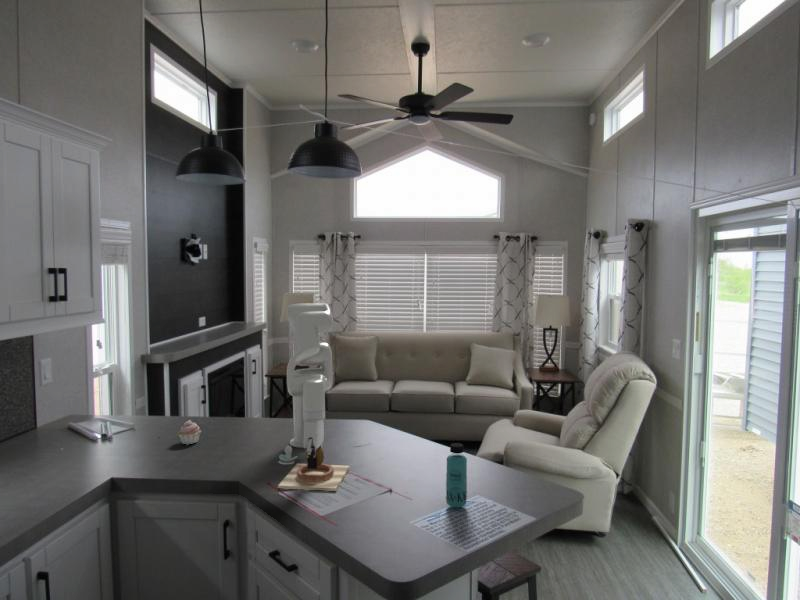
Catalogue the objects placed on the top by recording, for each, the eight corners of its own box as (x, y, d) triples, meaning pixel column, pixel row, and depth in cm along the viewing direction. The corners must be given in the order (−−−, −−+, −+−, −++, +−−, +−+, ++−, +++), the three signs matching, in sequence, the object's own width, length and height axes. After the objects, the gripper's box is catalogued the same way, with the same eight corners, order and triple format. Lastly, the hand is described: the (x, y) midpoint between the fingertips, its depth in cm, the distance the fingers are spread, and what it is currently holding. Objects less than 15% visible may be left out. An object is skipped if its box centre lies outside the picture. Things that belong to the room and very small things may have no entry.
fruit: (309, 472, 186) (309, 449, 185) (304, 466, 191) (303, 444, 191) (326, 468, 188) (326, 446, 188) (320, 463, 194) (320, 441, 193)
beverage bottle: (444, 503, 170) (444, 441, 168) (465, 502, 170) (465, 440, 169) (447, 512, 163) (447, 448, 162) (469, 511, 164) (469, 447, 162)
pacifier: (292, 466, 202) (299, 460, 208) (292, 450, 202) (299, 444, 207) (275, 465, 204) (282, 458, 210) (274, 449, 203) (281, 443, 209)
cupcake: (206, 441, 231) (205, 418, 230) (187, 448, 223) (186, 424, 222) (192, 438, 236) (191, 415, 235) (173, 444, 228) (172, 420, 227)
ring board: (297, 466, 201) (296, 458, 201) (349, 468, 199) (349, 460, 198) (278, 488, 182) (278, 479, 181) (336, 491, 179) (336, 482, 179)
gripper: (311, 407, 198) (312, 455, 199) (296, 421, 181) (297, 473, 182) (331, 408, 197) (331, 456, 198) (317, 421, 180) (318, 474, 181)
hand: (315, 464), depth 190 cm, fingers closed on fruit, 6 cm apart
